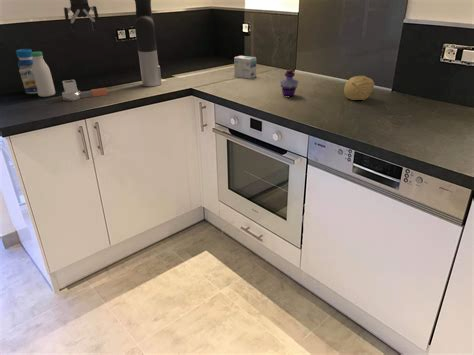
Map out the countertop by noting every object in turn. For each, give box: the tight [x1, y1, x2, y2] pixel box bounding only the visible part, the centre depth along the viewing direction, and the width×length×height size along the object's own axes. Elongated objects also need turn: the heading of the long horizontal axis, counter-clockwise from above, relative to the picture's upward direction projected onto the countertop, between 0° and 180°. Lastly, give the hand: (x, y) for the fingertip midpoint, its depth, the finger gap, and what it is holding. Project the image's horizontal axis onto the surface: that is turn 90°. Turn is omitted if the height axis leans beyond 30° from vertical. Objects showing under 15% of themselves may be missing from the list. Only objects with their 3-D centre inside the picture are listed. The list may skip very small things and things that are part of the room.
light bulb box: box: [233, 55, 257, 80], centre depth 211 cm, size 11×7×11 cm, turn 58°
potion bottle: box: [279, 69, 299, 98], centre depth 178 cm, size 9×9×12 cm
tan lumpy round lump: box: [343, 75, 375, 101], centre depth 172 cm, size 12×12×11 cm
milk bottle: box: [31, 50, 56, 98], centre depth 180 cm, size 8×8×20 cm
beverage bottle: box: [15, 48, 38, 95], centre depth 185 cm, size 8×8×20 cm
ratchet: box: [61, 87, 109, 102], centre depth 180 cm, size 20×8×6 cm, turn 118°
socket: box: [61, 79, 78, 94], centre depth 176 cm, size 5×5×5 cm
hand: (84, 31), depth 176 cm, fingers open, 8 cm apart
